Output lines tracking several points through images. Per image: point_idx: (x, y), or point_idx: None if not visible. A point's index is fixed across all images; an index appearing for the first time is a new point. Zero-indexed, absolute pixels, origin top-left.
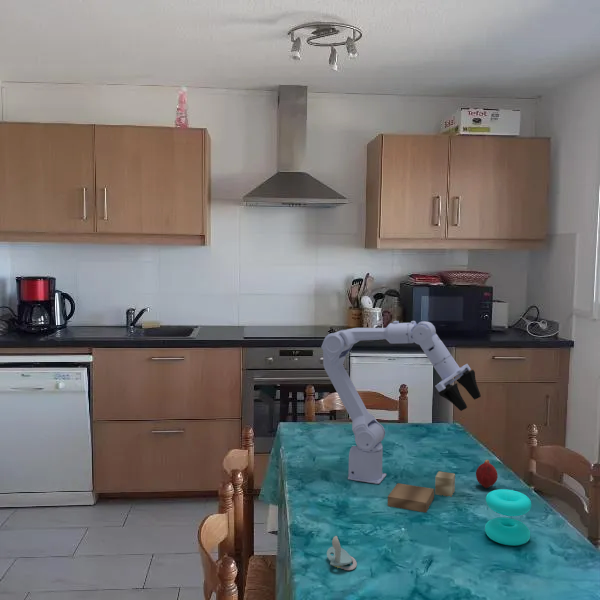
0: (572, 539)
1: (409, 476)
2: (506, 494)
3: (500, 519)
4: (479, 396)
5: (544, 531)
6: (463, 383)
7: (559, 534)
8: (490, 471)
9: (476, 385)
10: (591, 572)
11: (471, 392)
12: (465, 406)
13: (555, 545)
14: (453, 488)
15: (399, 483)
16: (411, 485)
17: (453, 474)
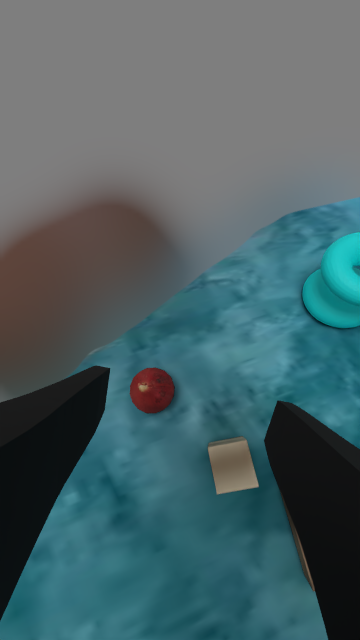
0: (271, 237)
1: (186, 589)
2: (355, 273)
3: (342, 301)
4: (108, 371)
5: (273, 268)
6: (13, 565)
7: (268, 252)
8: (162, 375)
9: (49, 391)
10: (346, 202)
11: (82, 437)
12: (297, 406)
13: (306, 247)
14: (225, 440)
15: (311, 583)
16: (299, 541)
17: (215, 449)
